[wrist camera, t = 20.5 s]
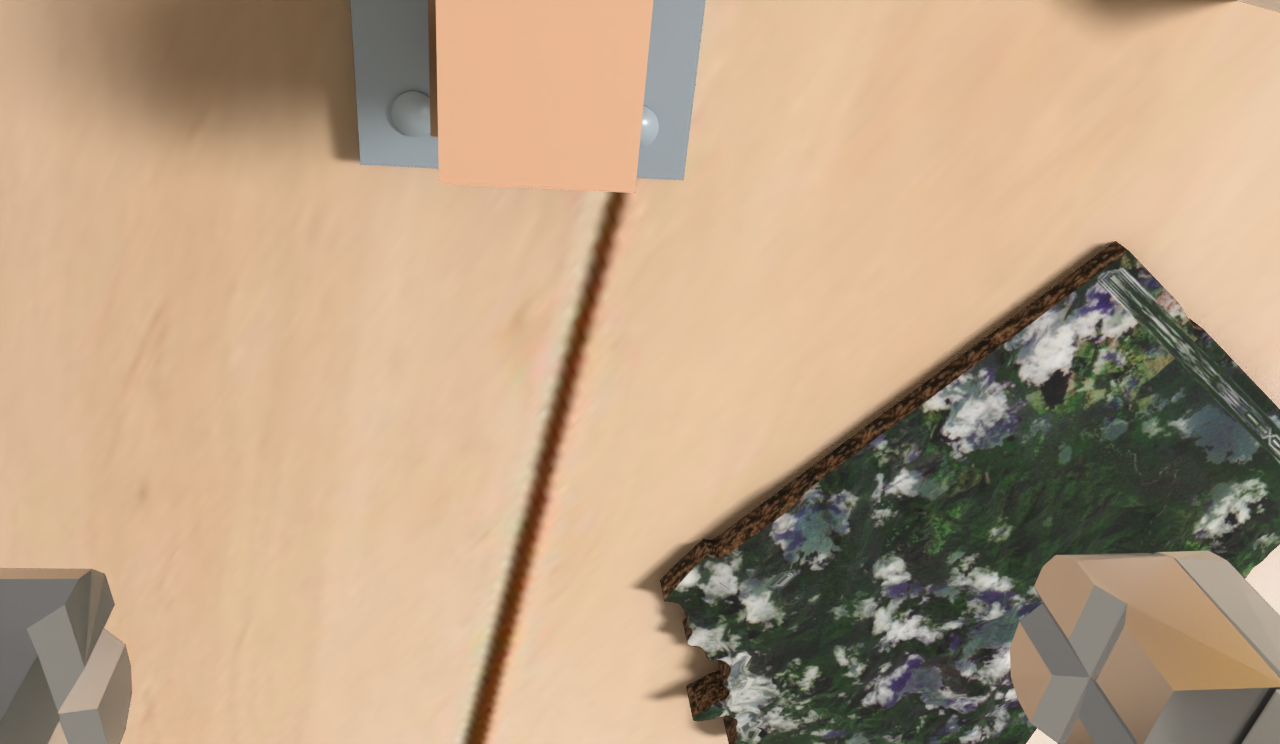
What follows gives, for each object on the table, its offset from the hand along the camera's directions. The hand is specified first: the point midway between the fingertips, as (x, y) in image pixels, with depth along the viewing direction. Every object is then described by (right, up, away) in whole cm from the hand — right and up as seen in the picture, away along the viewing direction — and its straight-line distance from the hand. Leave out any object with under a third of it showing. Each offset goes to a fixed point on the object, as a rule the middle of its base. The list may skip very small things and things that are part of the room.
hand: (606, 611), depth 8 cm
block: (-3, +12, +19) cm, 22 cm away
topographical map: (+18, -8, +43) cm, 47 cm away
